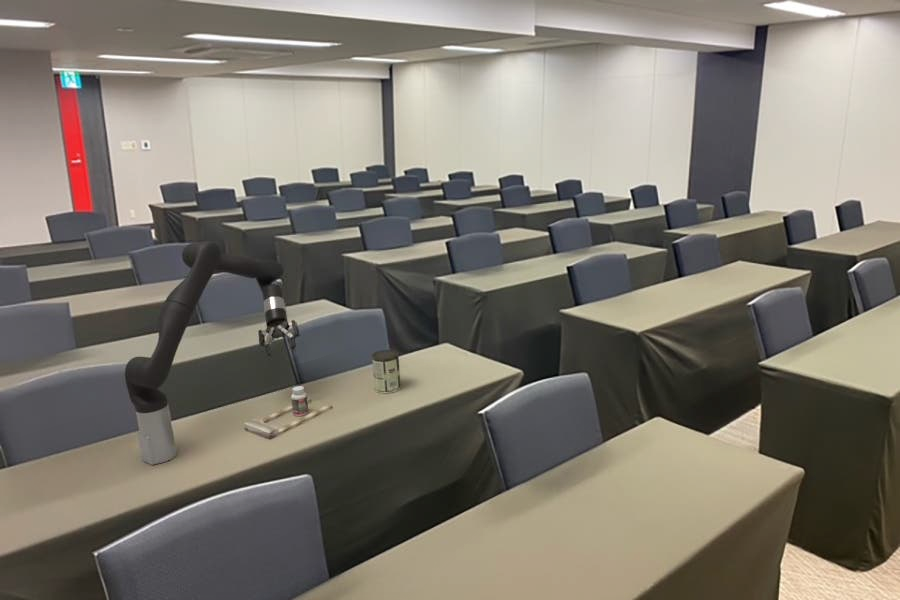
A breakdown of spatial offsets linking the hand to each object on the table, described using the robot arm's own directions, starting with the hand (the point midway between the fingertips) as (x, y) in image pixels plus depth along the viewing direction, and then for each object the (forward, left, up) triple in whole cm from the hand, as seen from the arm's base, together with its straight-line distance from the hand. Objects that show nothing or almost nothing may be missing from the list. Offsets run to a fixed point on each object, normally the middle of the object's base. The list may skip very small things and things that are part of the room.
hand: (281, 352), depth 224 cm
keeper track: (-5, -6, -22) cm, 24 cm away
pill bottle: (0, -6, -22) cm, 23 cm away
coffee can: (+33, -18, -22) cm, 44 cm away
